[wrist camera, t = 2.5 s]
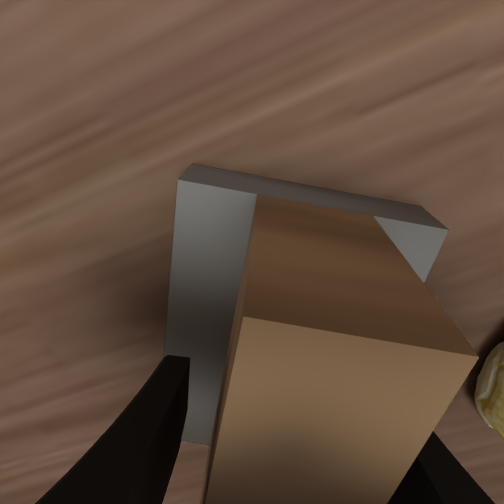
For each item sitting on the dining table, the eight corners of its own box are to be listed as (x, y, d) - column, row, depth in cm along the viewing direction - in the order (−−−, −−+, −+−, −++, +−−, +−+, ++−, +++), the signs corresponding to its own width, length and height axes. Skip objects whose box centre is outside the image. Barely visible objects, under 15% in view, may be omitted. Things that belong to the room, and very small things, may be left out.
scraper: (329, 419, 15) (371, 659, 9) (170, 393, 15) (98, 621, 9) (419, 204, 11) (630, 383, 4) (193, 162, 10) (78, 287, 4)
